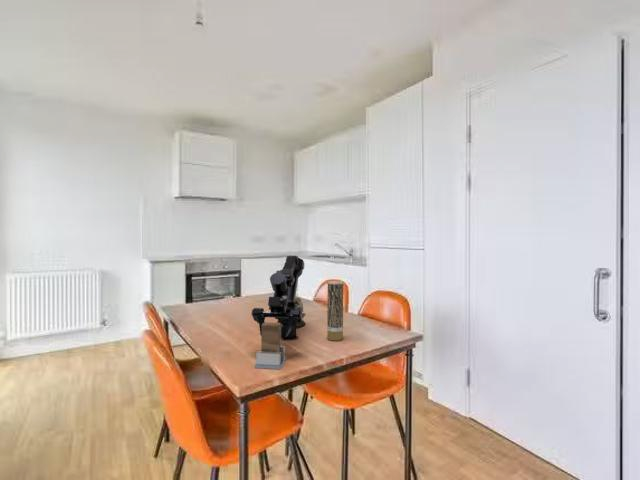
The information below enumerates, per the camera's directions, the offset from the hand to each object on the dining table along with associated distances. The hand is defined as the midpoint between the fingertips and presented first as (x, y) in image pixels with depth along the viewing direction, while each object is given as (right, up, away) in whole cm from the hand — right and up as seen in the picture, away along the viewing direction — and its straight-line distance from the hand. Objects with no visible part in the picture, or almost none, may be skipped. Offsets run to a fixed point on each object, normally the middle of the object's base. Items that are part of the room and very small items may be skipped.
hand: (273, 335), depth 127 cm
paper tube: (+23, -9, +25) cm, 35 cm away
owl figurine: (+2, -8, +45) cm, 46 cm away
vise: (0, -9, -1) cm, 9 cm away
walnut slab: (0, -8, -3) cm, 8 cm away
